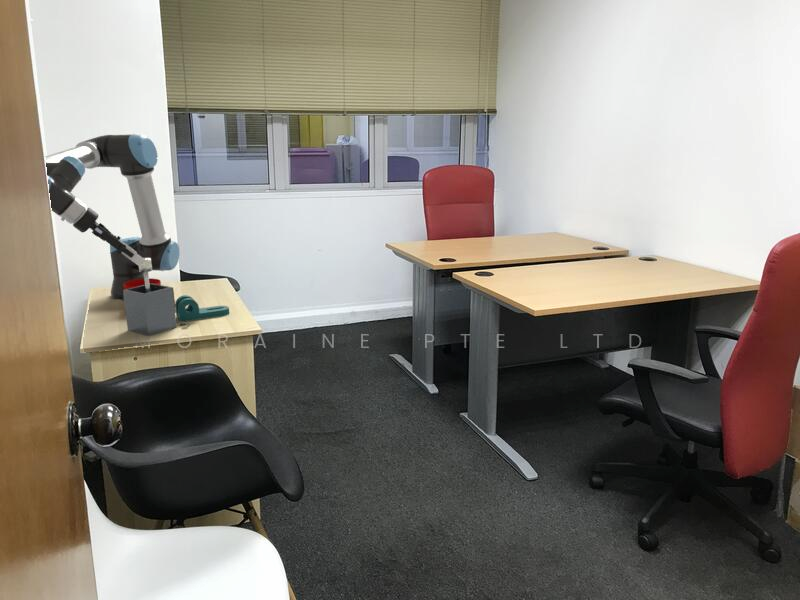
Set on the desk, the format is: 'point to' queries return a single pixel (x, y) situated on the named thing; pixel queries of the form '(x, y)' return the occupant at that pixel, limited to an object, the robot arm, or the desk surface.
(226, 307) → the bracket
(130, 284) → the ceramic cup
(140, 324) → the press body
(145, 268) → the plunger
